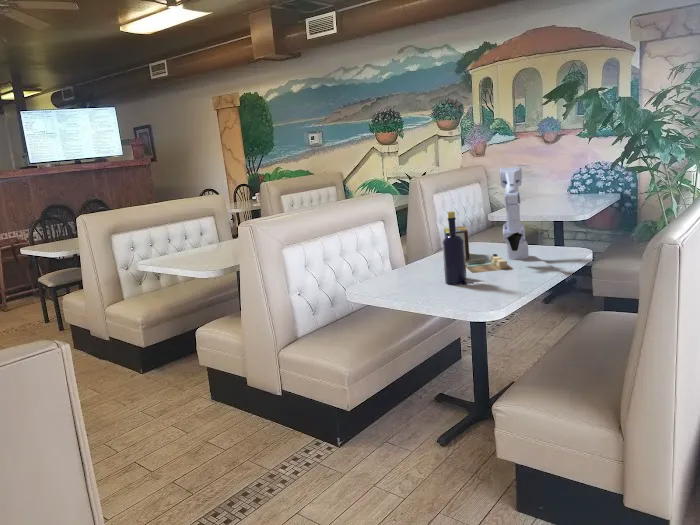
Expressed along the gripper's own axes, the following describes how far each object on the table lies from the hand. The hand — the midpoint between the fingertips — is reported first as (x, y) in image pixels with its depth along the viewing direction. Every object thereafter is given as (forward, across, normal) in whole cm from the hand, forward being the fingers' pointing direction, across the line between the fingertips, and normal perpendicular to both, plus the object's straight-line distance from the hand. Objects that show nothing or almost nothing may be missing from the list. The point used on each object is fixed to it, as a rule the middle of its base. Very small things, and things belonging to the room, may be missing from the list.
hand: (514, 250), depth 248 cm
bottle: (+8, +30, -11) cm, 33 cm away
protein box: (+8, -6, -35) cm, 37 cm away
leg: (+7, +3, -6) cm, 10 cm away
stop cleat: (+7, +3, -18) cm, 20 cm away
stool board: (+8, +6, -11) cm, 15 cm away
